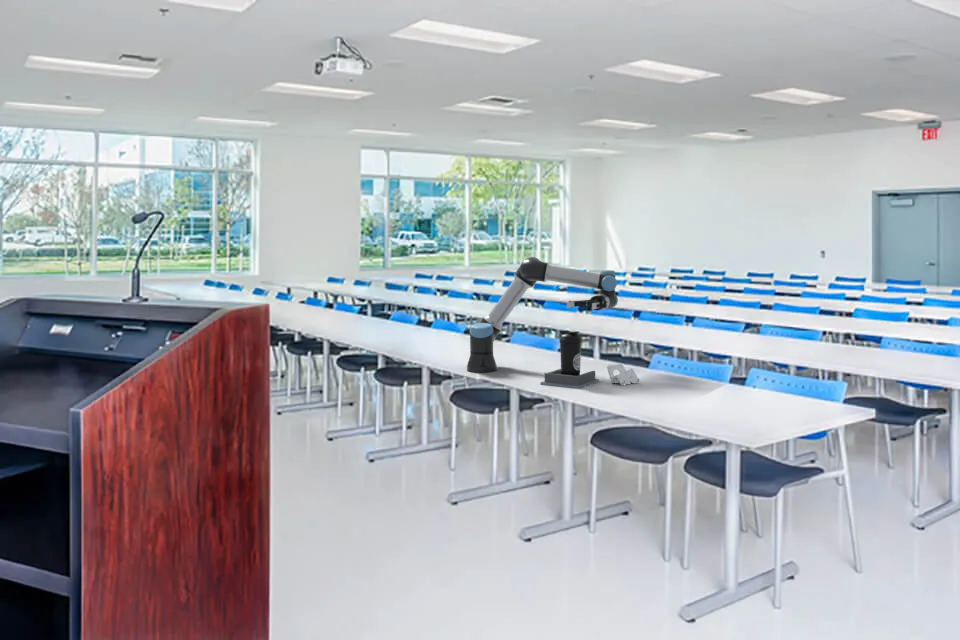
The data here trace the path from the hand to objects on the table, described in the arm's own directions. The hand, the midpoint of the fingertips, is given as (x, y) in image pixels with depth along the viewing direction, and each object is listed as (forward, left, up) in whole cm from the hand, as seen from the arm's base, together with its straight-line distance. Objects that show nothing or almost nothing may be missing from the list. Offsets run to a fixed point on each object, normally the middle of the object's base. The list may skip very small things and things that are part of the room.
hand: (579, 305), depth 384 cm
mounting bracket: (+26, -8, -34) cm, 44 cm away
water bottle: (+5, -19, -33) cm, 39 cm away
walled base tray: (+5, -20, -34) cm, 40 cm away
